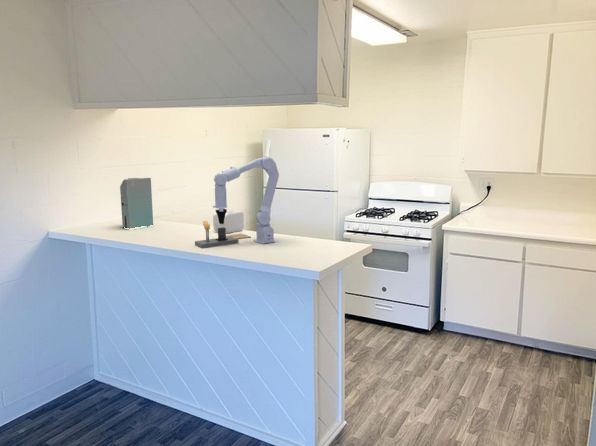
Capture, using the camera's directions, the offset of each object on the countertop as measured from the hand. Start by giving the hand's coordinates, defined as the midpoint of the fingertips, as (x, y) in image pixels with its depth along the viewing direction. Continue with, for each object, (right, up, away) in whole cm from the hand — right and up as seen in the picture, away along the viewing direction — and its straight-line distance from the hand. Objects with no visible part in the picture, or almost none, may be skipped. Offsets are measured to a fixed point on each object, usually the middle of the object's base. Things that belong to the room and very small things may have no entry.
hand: (221, 223), depth 251 cm
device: (-58, -3, +48) cm, 76 cm away
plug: (0, -10, +2) cm, 10 cm away
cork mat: (+6, -7, +18) cm, 20 cm away
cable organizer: (-1, -5, +35) cm, 35 cm away
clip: (-8, -2, +1) cm, 8 cm away
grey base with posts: (-2, -11, 0) cm, 11 cm away
